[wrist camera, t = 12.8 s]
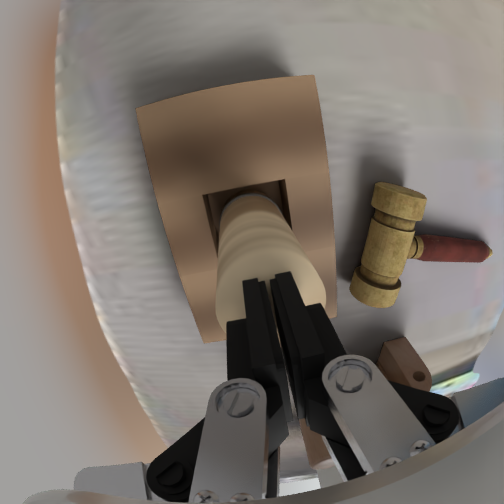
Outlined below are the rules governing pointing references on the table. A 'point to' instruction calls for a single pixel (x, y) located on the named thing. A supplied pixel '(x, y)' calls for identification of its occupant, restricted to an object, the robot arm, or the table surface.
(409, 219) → the gavel
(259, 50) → the table surface
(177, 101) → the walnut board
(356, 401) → the robot arm
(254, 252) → the wooden pepper mill
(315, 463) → the wooden toy
